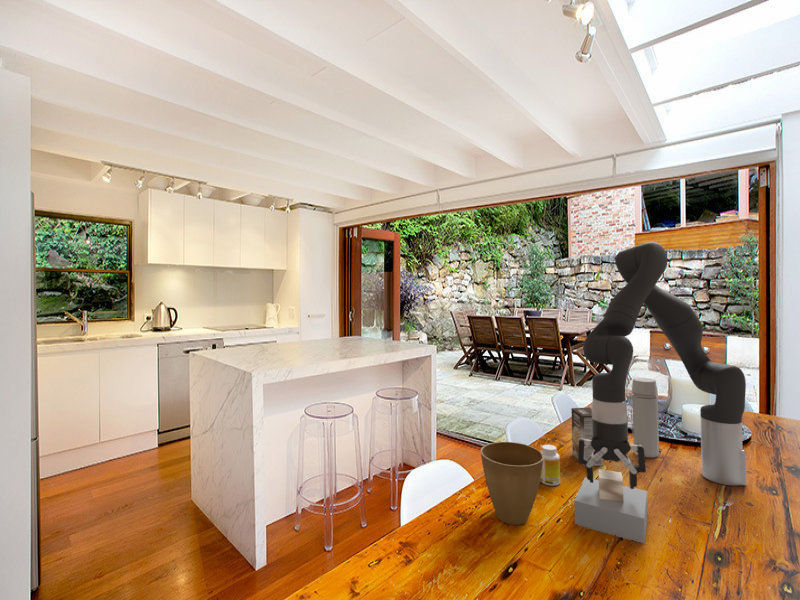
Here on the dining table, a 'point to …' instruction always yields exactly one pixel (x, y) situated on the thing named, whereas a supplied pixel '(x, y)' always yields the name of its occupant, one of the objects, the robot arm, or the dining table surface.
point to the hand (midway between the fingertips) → (611, 484)
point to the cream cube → (611, 486)
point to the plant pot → (512, 479)
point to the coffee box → (582, 431)
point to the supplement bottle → (550, 466)
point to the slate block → (612, 512)
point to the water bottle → (645, 415)
